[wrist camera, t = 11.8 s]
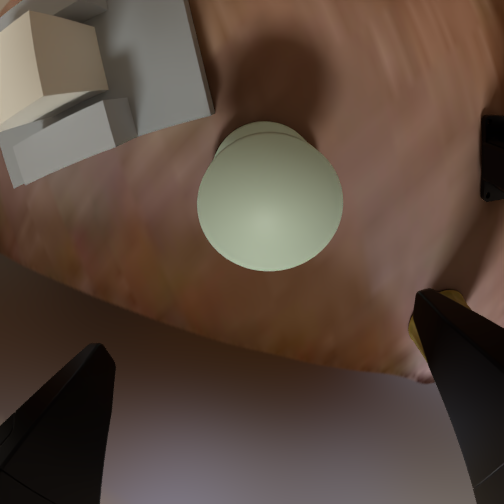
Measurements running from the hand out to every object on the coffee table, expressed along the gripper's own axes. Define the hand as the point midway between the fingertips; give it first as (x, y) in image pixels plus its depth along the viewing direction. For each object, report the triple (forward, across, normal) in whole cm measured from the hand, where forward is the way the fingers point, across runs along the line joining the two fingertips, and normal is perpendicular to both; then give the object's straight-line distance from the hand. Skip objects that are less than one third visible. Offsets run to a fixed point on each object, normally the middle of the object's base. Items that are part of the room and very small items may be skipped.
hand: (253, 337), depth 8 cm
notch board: (+12, +8, -10) cm, 18 cm away
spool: (+12, -1, -1) cm, 12 cm away
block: (+10, +8, -10) cm, 16 cm away
